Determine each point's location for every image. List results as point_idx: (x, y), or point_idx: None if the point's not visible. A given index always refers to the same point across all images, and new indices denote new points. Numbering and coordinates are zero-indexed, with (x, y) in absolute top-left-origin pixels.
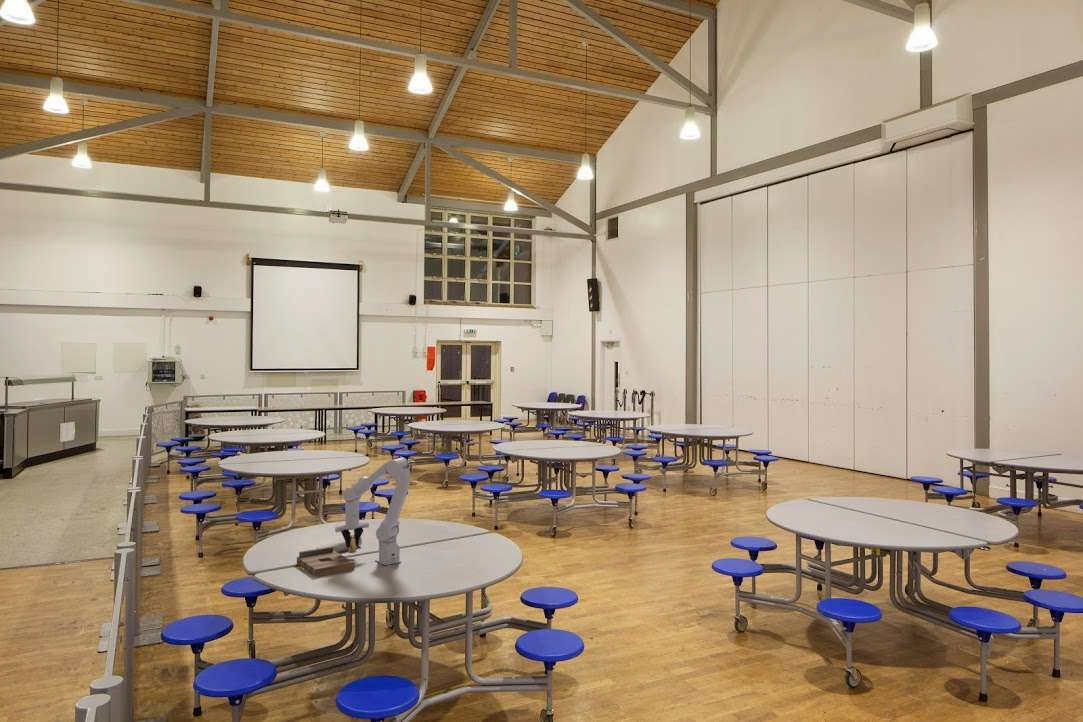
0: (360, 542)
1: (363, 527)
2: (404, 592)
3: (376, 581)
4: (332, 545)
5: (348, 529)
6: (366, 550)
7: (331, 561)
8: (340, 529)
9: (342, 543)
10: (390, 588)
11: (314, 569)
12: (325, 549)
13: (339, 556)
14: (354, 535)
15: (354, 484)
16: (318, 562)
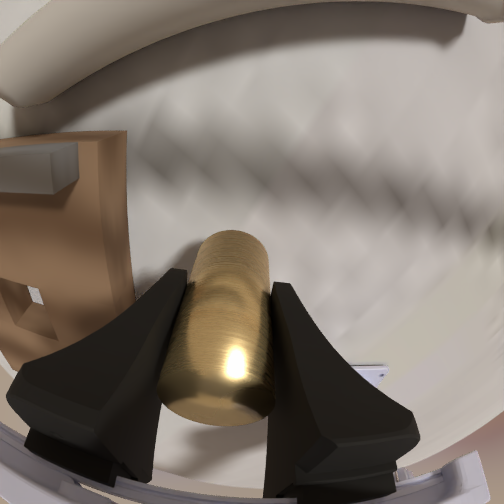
0: (485, 17)
1: (397, 490)
2: (196, 479)
3: (176, 453)
4: (128, 8)
5: (128, 493)
6: (443, 133)
7: (53, 352)
8: (9, 456)
9: None
10: (184, 470)
11: (10, 362)
12: (6, 189)
13: (95, 320)
14: (254, 406)
15: None
16: (5, 321)
